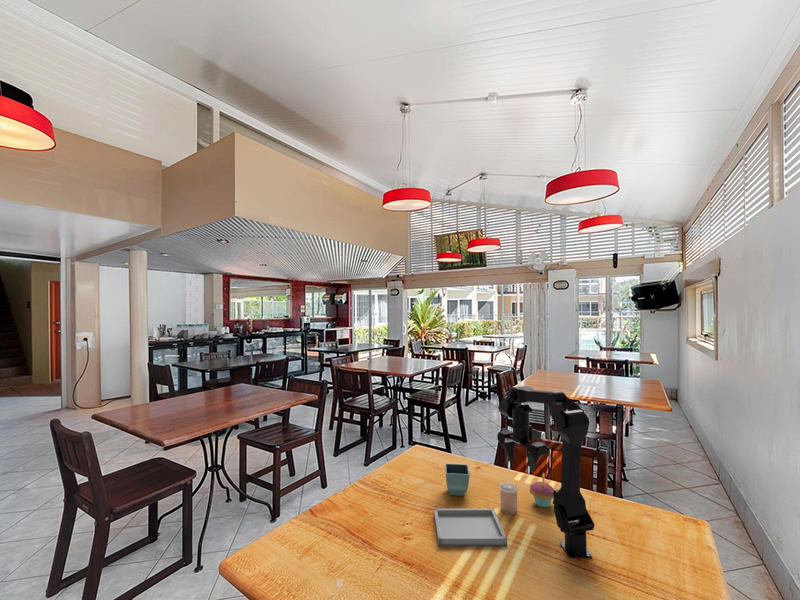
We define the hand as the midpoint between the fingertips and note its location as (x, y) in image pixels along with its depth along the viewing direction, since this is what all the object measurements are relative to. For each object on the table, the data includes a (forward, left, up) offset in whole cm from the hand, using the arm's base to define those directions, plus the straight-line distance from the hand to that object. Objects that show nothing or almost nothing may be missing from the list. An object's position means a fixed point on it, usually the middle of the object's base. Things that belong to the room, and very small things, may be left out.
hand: (521, 466), depth 129 cm
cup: (-3, +6, -13) cm, 15 cm away
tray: (-14, +22, -13) cm, 29 cm away
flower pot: (+9, +22, -14) cm, 27 cm away
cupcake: (+1, -7, -14) cm, 15 cm away
